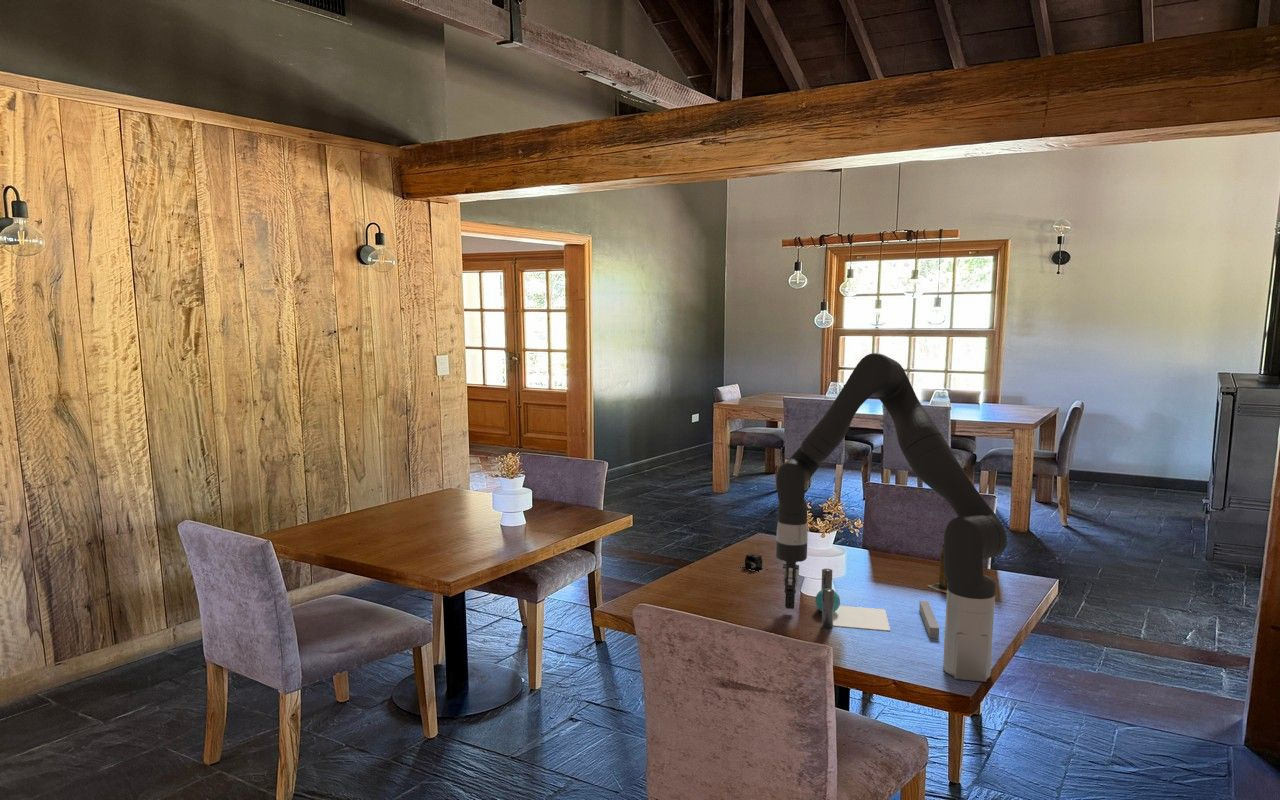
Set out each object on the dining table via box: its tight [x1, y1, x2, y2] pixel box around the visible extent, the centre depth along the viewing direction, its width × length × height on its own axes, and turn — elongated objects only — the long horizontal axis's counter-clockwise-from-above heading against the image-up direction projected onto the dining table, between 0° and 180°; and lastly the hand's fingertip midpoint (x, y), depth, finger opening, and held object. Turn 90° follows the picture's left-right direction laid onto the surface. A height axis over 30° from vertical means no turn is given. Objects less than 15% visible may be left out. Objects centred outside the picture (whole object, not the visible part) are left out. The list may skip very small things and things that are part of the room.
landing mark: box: [833, 605, 891, 632], centre depth 197 cm, size 14×14×1 cm
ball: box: [814, 589, 841, 612], centre depth 200 cm, size 6×6×6 cm
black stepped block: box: [739, 552, 764, 572], centre depth 235 cm, size 12×7×5 cm, turn 46°
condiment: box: [927, 543, 947, 594], centre depth 219 cm, size 7×8×12 cm
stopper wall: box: [918, 600, 940, 640], centre depth 193 cm, size 18×2×2 cm, turn 168°
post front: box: [821, 588, 835, 630], centre depth 190 cm, size 3×3×9 cm
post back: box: [820, 568, 833, 591], centre depth 206 cm, size 3×3×9 cm
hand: (789, 607), depth 199 cm, fingers closed
